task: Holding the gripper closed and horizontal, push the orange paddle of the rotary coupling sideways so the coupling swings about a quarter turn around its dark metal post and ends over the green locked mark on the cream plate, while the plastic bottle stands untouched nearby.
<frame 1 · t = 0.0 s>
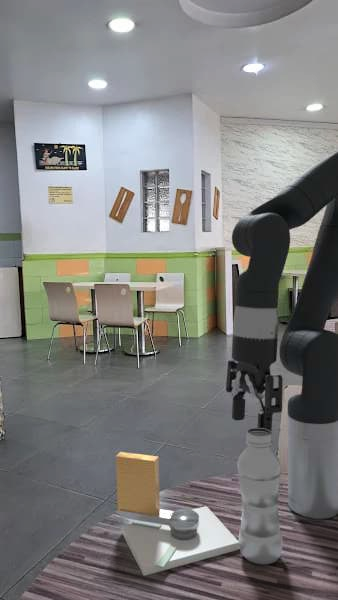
hand: (250, 427, 82), 17 cm above the table, tool pointing down, fingers open, 8 cm apart
plastic bottle: (260, 558, 74), on the table
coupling: (157, 489, 79), point 8 cm above the table, hinge at -40.0°
base plate: (178, 540, 78), on the table
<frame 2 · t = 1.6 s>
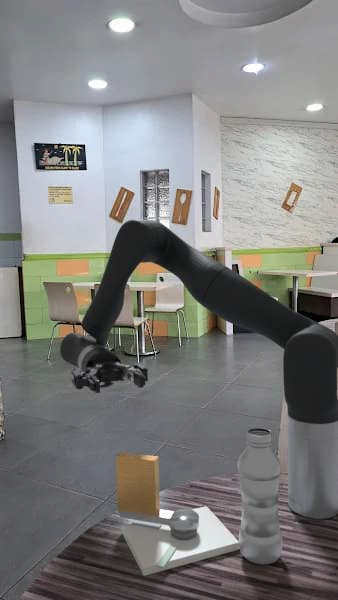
hand: (120, 384, 84), 24 cm above the table, tool horizontal, fingers open, 7 cm apart
nothing on the table moved.
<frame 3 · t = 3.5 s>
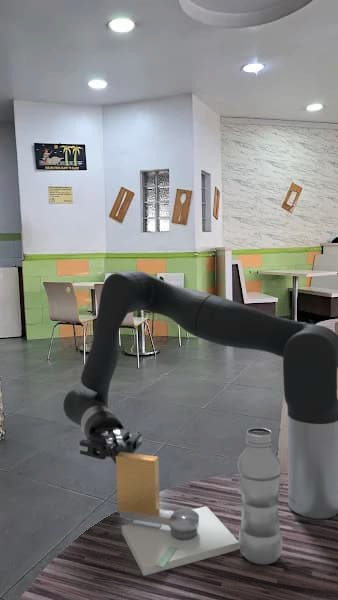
hand: (123, 460, 85), 11 cm above the table, tool horizontal, fingers closed
nothing on the table moved.
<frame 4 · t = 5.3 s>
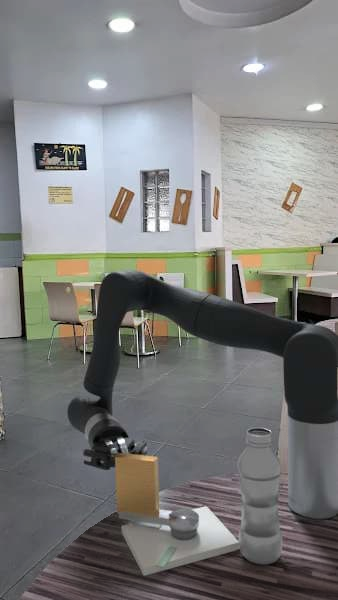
hand: (128, 471, 82), 10 cm above the table, tool horizontal, fingers closed
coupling: (157, 489, 79), point 8 cm above the table, hinge at -38.1°, touching gripper
everything else where it was.
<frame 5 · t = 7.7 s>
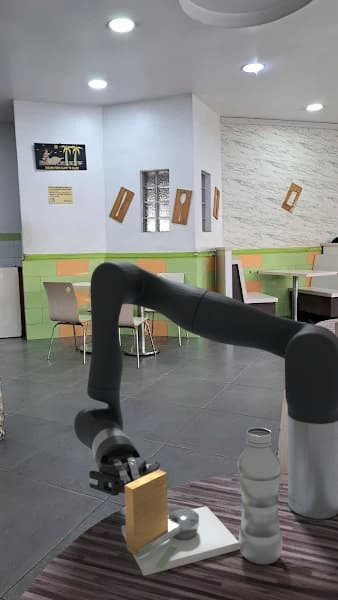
hand: (139, 499, 73), 10 cm above the table, tool horizontal, fingers closed
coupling: (163, 503, 75), point 8 cm above the table, hinge at 24.2°, touching gripper
everything else where it was.
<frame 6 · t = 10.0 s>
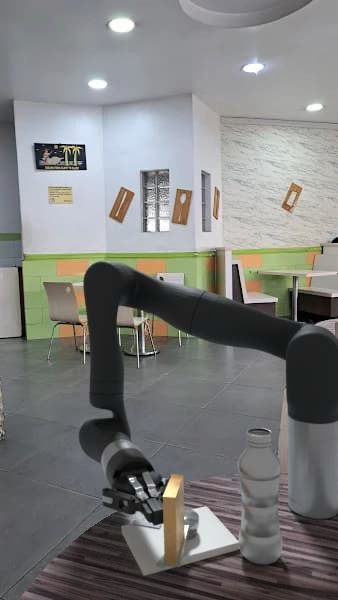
hand: (159, 518, 67), 10 cm above the table, tool horizontal, fingers closed
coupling: (178, 507, 74), point 8 cm above the table, hinge at 58.0°, touching gripper
everything else where it was.
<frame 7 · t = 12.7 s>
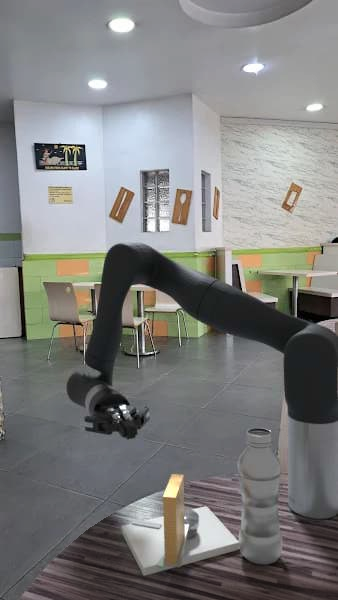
hand: (131, 433, 80), 17 cm above the table, tool horizontal, fingers closed
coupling: (178, 507, 74), point 8 cm above the table, hinge at 58.2°
everything else where it was.
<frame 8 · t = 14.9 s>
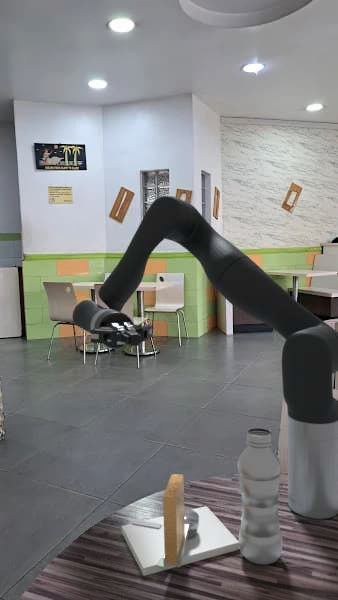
hand: (135, 340, 85), 32 cm above the table, tool horizontal, fingers closed
nothing on the table moved.
at the end: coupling at +58° (first picture: -40°); plastic bottle moved 0.2 cm from its start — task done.
